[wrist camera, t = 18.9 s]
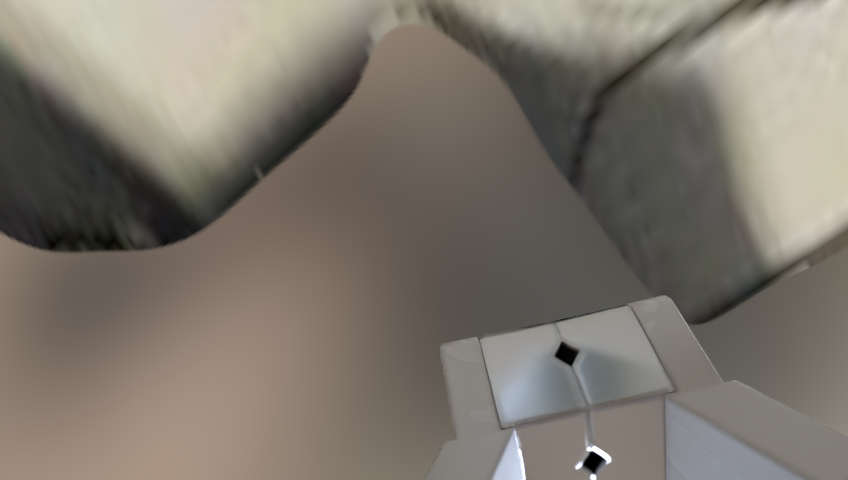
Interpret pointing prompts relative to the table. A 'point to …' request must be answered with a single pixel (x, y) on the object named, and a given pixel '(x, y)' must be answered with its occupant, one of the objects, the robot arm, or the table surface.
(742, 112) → the table surface
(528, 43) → the table surface
